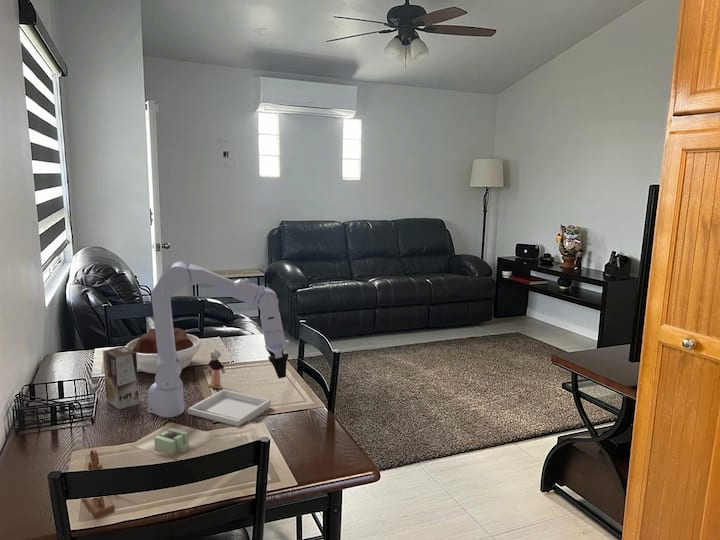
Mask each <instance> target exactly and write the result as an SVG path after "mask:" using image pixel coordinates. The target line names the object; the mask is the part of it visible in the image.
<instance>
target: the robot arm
mask: <svg viewBox="0 0 720 540" xmlns="http://www.w3.org/2000/svg"><path fill="white" fill-rule="evenodd" d="M189 283H191V284H190V286H195V285H199V284H205V285H209V286H211V287H214V288H217V289H220V290H223V291H226V292H229V293H230V294H231V297H232V298H233V299H236V300H238V301H241V302H244V303H247V304H249V305H252V306H257V307H258V308H259V310H260V311H259V312H260V323H261V329H262V333H263V337H264V338H263V340H264V343H265V345H264V348H265V351H267V353H268V354H269V355H268V360H269V362H270V363H271V364H272V366H273V368H274V370H275V373H276V376H277V378H278V379H283V378H286V377H287V364H288V363H287V362H288V359H289V353H284V350H285V348H286V345H287V346H288V345H289V344H290V341H289V339H287V340H285V333H284V329H283V328H284V327H283V324H282V323H283V322H282V317H281V313H280V307H279V299H278V295H277V294H276V292H275V291H274V290H273V289H271V288H270V287H265V286H264V285H261V286H260V285H257V284H255V283H252V282H251V281H250V279H248V278H247V277H246V278H244V279H242V278H239V279H237V280H232V279H230V278H227V277H225V276H223V275H220V274H219V273H216V272H213V271H211V270H209V269H206V268H204V267H201V266H198V265H196V264H193V263H190V264H189V263H187V262H186V261H182V260H181V261H176V262H174V263H172V264H171V265H170V266H169V267H167V268H166V269H165V270H164V272H163V273H162V274H161V276H160V277H159V279H158V281H157V283H156V284H155V286H154V288H153V289H152V291H151V304H152V305H151V306H152V313H153V315H152V316H153V324H154V328H155V333H156V342H157V351H158V361H157V369H158V370H157V374H155V376H154V383H153V384H151V385H150V387H149V389H148V391H147V405H148V406H147V407H148V413H149V414H151V413H152V414H154V415H157V416H159V417H161V418H173V417H177V416H180V415H181V414H183V413H184V411H185V408H184V407H185V405H184V404H185V401H184V382H183V380H182V379H181V378H180V377H181V373H182V371H183V369H182V364H181V363H180V361H179V360H178V356H177V352H176V348H175V338H174V329H175V328H174V322H173V320H174V319H173V311H172V310H173V309H172V301H171V298H172V297H173V296H174V295H175V294H176V292H178V291H180V290H182V289H184V288H186V287H187V286H188V284H189Z"/></svg>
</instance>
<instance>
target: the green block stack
mask: <svg viewBox="0 0 720 540" xmlns="http://www.w3.org/2000/svg"><path fill="white" fill-rule="evenodd" d="M169 432H175V437H174V438H173V439H169V438H168V433H169ZM154 441H155V450H158V451H162V452H165V453H168V454H172V455H173V454H174V453H176V451H180V452H185V451H186V450H188V444H189V440H188V432H184V431H181V430H177V429H174V428H170V429H168V431H165V432H163V433H161V434H160V436H159V435H158V436H156V437H154Z"/></svg>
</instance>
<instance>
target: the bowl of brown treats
mask: <svg viewBox="0 0 720 540" xmlns="http://www.w3.org/2000/svg"><path fill="white" fill-rule="evenodd" d="M173 329H174V338H175V348H176V352H177V356H178V360H179V361H180V363H181V364H182V370H183V369H185V368H187V367H189V365H191V363H192V361H193V358H194V356H195V355H196V354H197V352H198V351H199V349H200V348H201V346H202V343H201V342H202V341H201V339H200V338H199V337H198V336H196V335H194V334H189V333H187V331H186V330H184V329H182V328H179V327H175V328H173ZM125 347H126V348H128V349H130V350H132V351H134V352H136V357H137V370H139V371H141V372H144V373H147V374H152V375H153V374H154V375H156V374H157V370H158V369H157V361H158V351H157V342H156V333H155V327H154V328H149V329H148V333H143V334H142V335H140V337H138V338H135V339H133V340H130V342H128V343H126V345H125Z"/></svg>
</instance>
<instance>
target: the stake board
mask: <svg viewBox="0 0 720 540" xmlns="http://www.w3.org/2000/svg"><path fill="white" fill-rule="evenodd" d="M170 428H174V429H177V430H181V431H184V432H188V440H189V444H188V450H186V451H185V452H180V451H176V453H174V454H173V455H172V454H168V453H165V452H162V451H158V450H155V441H154V437H156V436H158V435H159V436H160V434H161V433H163V432H165V431H168V429H170ZM174 437H175V432H169V433H168V438H169V439H173V438H174ZM215 437H218V434H216V433H213V432H209V431H205V430H201V429H198V428H194V427H190V426H186V425H182V424H180V423H175V422H173V421H171V422H169V423H167V424H166V425H164V426H162V427H160V428H158V429H157V430H155V431H153V432H151V433H149V434H147V435H144V437H142V438H140V439H138V440H137V441H135V442H132V443H131V444H129V446H131V447H133V448H134V447H135V448H137V449H141V450H144V451H147V452H150V453H154V454H157V455H159V456H164V457H165V458H166V457H167V458H170V459H174V460H177V461H180V460H182V459H183V458H184V457H186V456H189V454H191V453H193V452H194V451H196V449H198V448H200V447H202V446H203V445H204V444H206V443H208V442H209V441H211V440H212V439H214V438H215ZM179 458H180V460H179Z"/></svg>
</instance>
